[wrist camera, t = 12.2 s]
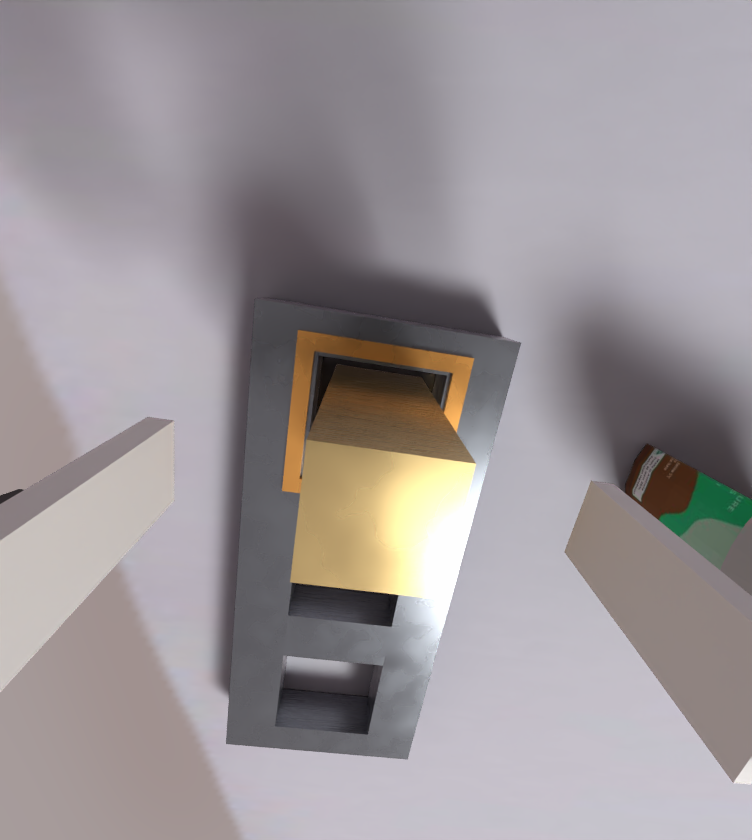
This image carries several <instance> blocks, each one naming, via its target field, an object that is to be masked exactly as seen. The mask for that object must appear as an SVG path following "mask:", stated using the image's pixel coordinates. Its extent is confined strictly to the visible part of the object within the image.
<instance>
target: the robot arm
mask: <svg viewBox="0 0 752 840" xmlns="http://www.w3.org/2000/svg"><path fill="white" fill-rule="evenodd" d="M173 502H174V421H173V420H166V419H159V418H152V417H147V418H145V419H143V420H142V421H140V422H138V423H137V424H135V425H133V426H132V427H130V428H128V429H127V430H125V431H123V432H121V433H120V434H118V435H116V436H115V437H113V438H111V439H110V440H108V441H106V442H105V443H103V444H101V445H99V446H98V447H96V448H94V449H93V450H91V451H89V452H88V453H86V454H84V455H83V456H81V457H79V458H77V459H76V460H74V461H72V462H71V463H69V464H67V465H66V466H64V467H62V468H61V469H59V470H57V471H56V472H54V473H52V474H50V475H49V476H47V477H45V478H44V479H42V480H40V481H39V482H37V483H35V484H34V485H32V486H30V487H29V488H27V489H25V490H22V489H18V490H15V491H12V492H10V493H6V494H3V495H1V496H0V692H1V691H2V690H3V689H4V688H5V687H6V685H7V684H8V683H9V682H10V681H11V680H12V679H13V678H14V677H15V676H16V674H17V673H18V672H19V671H20V670H21V669H22V668H23V667H24V666H25V664H26V663H27V662H28V661H29V660H30V659H31V658H32V657H33V656H34V655H35V654H36V652H37V651H38V650H39V649H40V648H41V647H42V646H43V645H44V644H45V642H46V641H47V640H48V639H49V638H50V637H51V636H52V635H53V634H54V633H55V632H56V630H57V629H58V628H59V627H60V626H61V625H62V624H63V623H64V622H65V621H66V619H67V618H68V617H69V616H70V615H71V614H72V613H73V612H74V611H75V610H76V608H77V607H78V606H79V605H80V604H81V603H82V602H83V601H84V600H85V598H86V597H87V596H88V595H89V594H90V593H91V592H92V591H93V590H94V589H95V588H96V586H97V585H98V584H99V583H100V582H101V581H102V580H103V579H104V578H105V576H106V575H107V574H108V573H109V572H110V571H111V570H112V569H113V568H114V567H115V565H116V564H117V563H118V562H119V561H120V560H121V559H122V558H123V557H124V556H125V554H126V553H127V552H128V551H129V550H130V549H131V548H132V547H133V546H134V545H135V543H136V542H137V541H138V540H139V539H140V538H141V537H142V536H143V535H144V534H145V532H146V531H147V530H148V529H149V528H150V527H151V526H152V525H153V524H154V523H155V521H156V520H157V519H158V518H159V517H160V516H161V515H162V514H163V513H164V512H165V510H166V509H167V508H168V507H169V506H170V505H171V504H172V503H173ZM565 553H566V555H567V556H568V557H569V559H570V560H571V561H572V563H573V564H574V566H575V567H576V568H577V570H578V571H579V572H580V574H581V575H582V577H583V578H584V579H585V581H586V582H587V583H588V585H589V586H590V587H591V589H592V590H593V592H594V593H595V594H596V596H597V597H598V598H599V600H600V601H601V603H602V604H603V605H604V607H605V608H606V609H607V611H608V612H609V613H610V615H611V616H612V618H613V619H614V620H615V622H616V623H617V624H618V626H619V627H620V629H621V630H622V631H623V633H624V634H625V635H626V637H627V638H628V639H629V641H630V642H631V644H632V645H633V646H634V648H635V649H636V650H637V652H638V653H639V655H640V656H641V657H642V659H643V660H644V661H645V663H646V664H647V665H648V667H649V668H650V670H651V671H652V672H653V674H654V675H655V676H656V678H657V679H658V681H659V682H660V683H661V685H662V686H663V687H664V689H665V690H666V691H667V693H668V694H669V696H670V697H671V698H672V700H673V701H674V702H675V704H676V705H677V707H678V708H679V709H680V711H681V712H682V713H683V715H684V716H685V717H686V719H687V720H688V722H689V723H690V724H691V726H692V727H693V728H694V730H695V731H696V733H697V734H698V735H699V737H700V738H701V739H702V741H703V742H704V743H705V745H706V746H707V748H708V749H709V750H710V752H711V753H712V754H713V756H714V757H715V758H716V760H717V761H718V763H719V764H720V765H721V767H722V768H723V769H724V771H725V772H726V774H727V775H728V776H729V778H730V779H731V780H732V782H733V783H740V784H751V785H752V596H751V595H750V594H749V593H747V592H746V591H745V590H744V589H742V588H741V587H740V586H739V585H737V584H736V583H735V582H734V581H733V580H731V579H730V578H729V577H728V576H726V575H725V574H724V573H723V572H722V571H720V570H719V569H718V568H717V567H715V566H714V565H713V564H712V563H710V562H709V561H708V560H707V559H706V558H704V557H703V556H702V555H701V554H699V553H698V552H697V551H696V550H694V549H693V548H692V547H691V546H690V545H688V544H687V543H686V542H685V541H683V540H682V539H681V538H680V537H678V536H677V535H676V534H675V533H674V532H672V531H671V530H670V529H669V528H667V527H666V526H665V525H664V524H662V523H661V522H660V521H659V520H658V519H656V518H655V517H654V516H653V515H651V514H650V513H649V512H648V511H646V510H645V509H644V508H643V507H642V506H640V505H639V504H638V503H637V502H635V501H634V500H633V499H632V498H630V497H629V496H628V495H627V494H626V493H624V492H623V491H622V490H621V489H619V488H618V487H617V486H616V485H614V484H611V483H604V482H597V481H591V483H590V485H589V488H588V491H587V493H586V496H585V499H584V501H583V504H582V507H581V509H580V512H579V515H578V517H577V520H576V523H575V525H574V528H573V531H572V533H571V536H570V539H569V541H568V544H567V547H566V549H565Z"/></svg>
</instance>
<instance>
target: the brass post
mask: <svg viewBox="0 0 752 840" xmlns="http://www.w3.org/2000/svg"><path fill="white" fill-rule="evenodd" d="M475 466H476V463H475V461H474V460H473V458H472V456H471V455H470V453H469V452H468V450H467V449H466V447H465V445H464V444H463V442H462V441H461V439H460V438H459V436H458V434H457V433H456V431H455V430H454V428H453V426H452V425H451V423H450V422H449V420H448V419H447V417H446V415H445V414H444V412H443V411H442V409H441V407H440V406H439V404H438V403H437V401H436V400H435V398H434V396H433V395H432V393H431V392H430V390H429V389H428V387H427V385H426V384H425V382H424V381H423V379H422V377H417V376H410V375H404V374H397V373H391V372H385V371H378V370H372V369H366V368H359V367H353V366H346V365H340V364H337V365H336V368H335V370H334V373H333V375H332V378H331V380H330V383H329V385H328V388H327V390H326V393H325V395H324V398H323V400H322V402H321V405H320V407H319V410H318V412H317V415H316V417H315V420H314V422H313V425H312V427H311V430H310V432H309V435H308V437H307V440H306V448H305V457H304V466H303V474H302V483H301V492H300V500H299V509H298V518H297V526H296V535H295V544H294V552H293V561H292V570H291V578H290V582H292V583H300V584H309V585H318V586H326V587H335V588H344V589H352V590H361V591H369V592H378V593H387V594H395V595H404V596H413V597H421V598H430V599H439V600H441V596H442V592H443V588H444V584H445V581H446V577H447V573H448V569H449V565H450V562H451V558H452V554H453V550H454V546H455V543H456V539H457V535H458V531H459V527H460V524H461V520H462V516H463V512H464V508H465V504H466V501H467V497H468V493H469V489H470V485H471V482H472V478H473V474H474V470H475Z"/></svg>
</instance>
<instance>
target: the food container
mask: <svg viewBox="0 0 752 840" xmlns="http://www.w3.org/2000/svg"><path fill="white" fill-rule="evenodd" d="M625 493H626V494H627V495H628V496H629V497H630V498H632V499H633V500H634V501H635V502H637V503H638V504H639V505H640V506H642V507H643V508H644V509H645V510H646V511H648V512H649V513H650V514H651V515H653V516H654V517H655V518H656V519H658V520H659V521H660V522H661V523H662V524H664V525H665V526H666V527H667V528H669V529H670V530H671V531H672V532H674V533H675V534H676V535H677V536H678V537H680V538H681V539H682V540H683V541H685V542H686V543H687V544H688V545H690V546H691V547H692V548H693V549H694V550H696V551H697V552H698V553H699V554H701V555H702V556H703V557H704V558H706V559H707V560H708V561H709V562H710V563H712V564H713V565H714V566H715V567H717V568H718V569H719V570H720V571H722V572H723V573H724V574H725V575H726V576H728V577H729V578H730V579H731V580H733V581H734V582H735V583H736V584H737V585H739V586H740V587H741V588H742V589H744V590H745V591H746V592H747V593H749V594H750V595H751V596H752V499H750V498H748V497H746V496H744V495H743V494H741V493H739V492H737V491H735V490H733V489H731V488H729V487H728V486H726V485H724V484H722V483H720V482H718V481H716V480H715V479H713V478H711V477H709V476H707V475H705V474H703V473H701V472H700V471H698V470H696V469H694V468H692V467H690V466H688V465H687V464H685V463H683V462H681V461H679V460H677V459H675V458H673V457H672V456H670V455H668V454H666V453H664V452H662V451H660V450H659V449H657V448H655V447H653V446H651V445H649V444H646V445H645V447H644V448H643V450H642V451H641V452H640V454H639V455H638V457H637V458H636V459H635V461H634V464H633V466H632V469H631V471H630V474H629V476H628V479H627V481H626V484H625Z"/></svg>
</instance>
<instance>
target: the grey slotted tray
mask: <svg viewBox="0 0 752 840" xmlns="http://www.w3.org/2000/svg"><path fill="white" fill-rule="evenodd" d="M520 345H521V343H520V342H517V341H514V340H511V339H508V338H505V337H501V336H495V335H489V334H483V333H477V332H471V331H465V330H459V329H453V328H447V327H441V326H435V325H429V324H423V323H417V322H411V321H405V320H399V319H393V318H387V317H381V316H375V315H369V314H363V313H357V312H351V311H345V310H339V309H333V308H327V307H321V306H315V305H309V304H303V303H297V302H291V301H285V300H279V299H273V298H259V299H255V303H254V318H253V334H252V349H251V365H250V381H249V396H248V412H247V427H246V443H245V458H244V474H243V489H242V505H241V520H240V536H239V551H238V567H237V583H236V598H235V614H234V629H233V645H232V660H231V676H230V691H229V707H228V722H227V738H226V744H233V745H245V746H257V747H268V748H280V749H292V750H304V751H315V752H327V753H339V754H350V755H362V756H374V757H386V758H397V759H408V755H409V752H410V748H411V744H412V741H413V737H414V733H415V730H416V726H417V722H418V719H419V715H420V711H421V708H422V704H423V700H424V697H425V693H426V689H427V686H428V682H429V678H430V675H431V671H432V667H433V664H434V660H435V656H436V653H437V649H438V645H439V642H440V638H441V634H442V631H443V627H444V623H445V620H446V616H447V612H448V609H449V605H450V601H451V598H452V594H453V590H454V587H455V583H456V579H457V576H458V572H459V568H460V565H461V561H462V557H463V554H464V550H465V546H466V543H467V539H468V535H469V532H470V528H471V524H472V521H473V517H474V513H475V510H476V506H477V502H478V499H479V495H480V491H481V488H482V484H483V480H484V477H485V473H486V469H487V466H488V462H489V458H490V455H491V451H492V447H493V444H494V440H495V436H496V433H497V429H498V425H499V422H500V418H501V414H502V411H503V407H504V403H505V400H506V396H507V392H508V389H509V385H510V381H511V378H512V374H513V370H514V367H515V363H516V359H517V356H518V352H519V348H520ZM323 356H326V357H332V358H338V359H345V360H351V361H358V362H364V363H370V364H377V365H383V366H389V367H396V368H402V369H408V370H415V371H421V372H427V373H434V374H436V378H435V382H434V387H433V392H432V395H433V396H434V398H435V400H436V401H437V403H438V404H439V406H440V407H441V409H442V411H443V412H444V414H445V415H446V417H447V419H448V420H449V422H450V423H451V425H452V426H453V428H454V430H455V431H456V433H457V434H458V436H459V438H460V439H461V441H462V442H463V444H464V445H465V447H466V449H467V450H468V452H469V453H470V455H471V456H472V458H473V460H474V461H475V463H476V466H475V470H474V474H473V478H472V482H471V485H470V489H469V493H468V497H467V501H466V504H465V508H464V512H463V516H462V520H461V524H460V527H459V531H458V535H457V539H456V543H455V546H454V550H453V554H452V558H451V562H450V565H449V569H448V573H447V577H446V581H445V584H444V588H443V592H442V596H441V600H439V599H430V598H421V597H413V596H404V595H395V594H389V595H382V594H373V593H365V592H356V591H347V590H339V589H330V588H321V587H313V586H304V585H296V583H292V582H290V578H291V570H292V561H293V552H294V544H295V535H296V526H297V518H298V509H299V500H300V492H301V483H302V474H303V466H304V457H305V448H306V440H307V437H308V435H309V432H310V430H311V427H312V425H313V422H314V420H315V417H316V411H317V403H318V394H319V386H320V378H321V370H322V361H323ZM287 656H294V657H303V658H313V659H323V660H333V661H343V662H352V663H362V664H372V665H374V670H373V674H372V679H371V684H370V688H369V693H368V697H362V696H352V695H341V694H331V693H321V692H310V691H300V690H289V689H283V684H284V676H285V668H286V659H287Z"/></svg>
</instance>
